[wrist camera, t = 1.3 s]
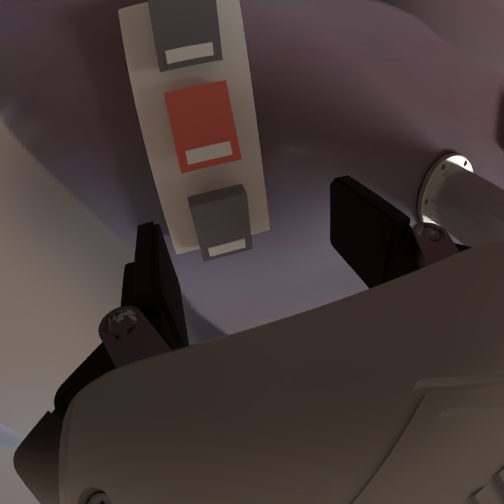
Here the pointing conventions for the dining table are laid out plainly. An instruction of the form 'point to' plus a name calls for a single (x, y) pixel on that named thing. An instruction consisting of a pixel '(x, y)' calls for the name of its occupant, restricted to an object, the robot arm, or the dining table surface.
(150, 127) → the rocker switch panel
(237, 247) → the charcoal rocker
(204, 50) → the charcoal rocker
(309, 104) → the dining table surface
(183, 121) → the red rocker
